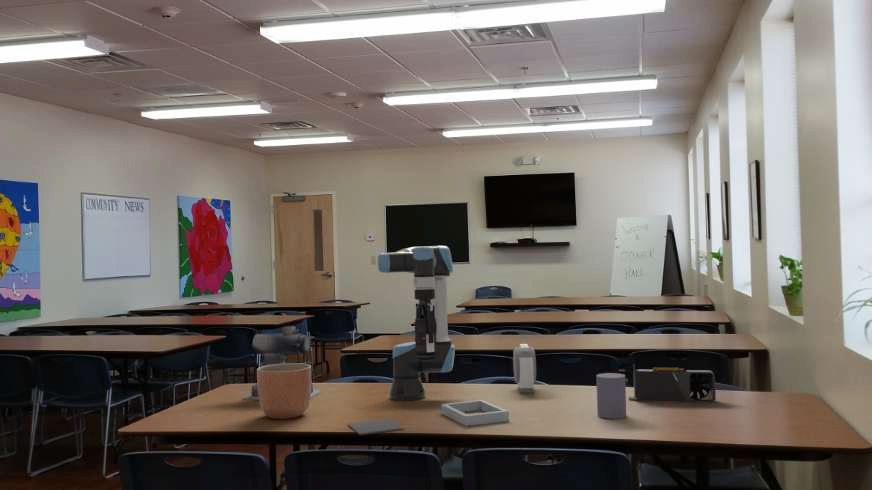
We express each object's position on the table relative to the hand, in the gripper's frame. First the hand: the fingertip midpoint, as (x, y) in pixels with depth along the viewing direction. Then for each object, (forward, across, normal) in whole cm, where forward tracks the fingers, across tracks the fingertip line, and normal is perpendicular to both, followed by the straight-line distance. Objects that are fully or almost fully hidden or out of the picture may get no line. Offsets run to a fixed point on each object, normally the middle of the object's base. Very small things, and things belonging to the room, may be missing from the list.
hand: (426, 350), depth 275 cm
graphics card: (+27, +12, +99) cm, 103 cm away
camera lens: (+3, 0, 0) cm, 3 cm away
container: (+26, +24, +63) cm, 72 cm away
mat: (+26, -1, -20) cm, 33 cm away
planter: (+26, -36, -46) cm, 64 cm away
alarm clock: (+27, -36, +59) cm, 74 cm away
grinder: (+27, -79, -40) cm, 92 cm away
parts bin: (+26, +1, +18) cm, 32 cm away
